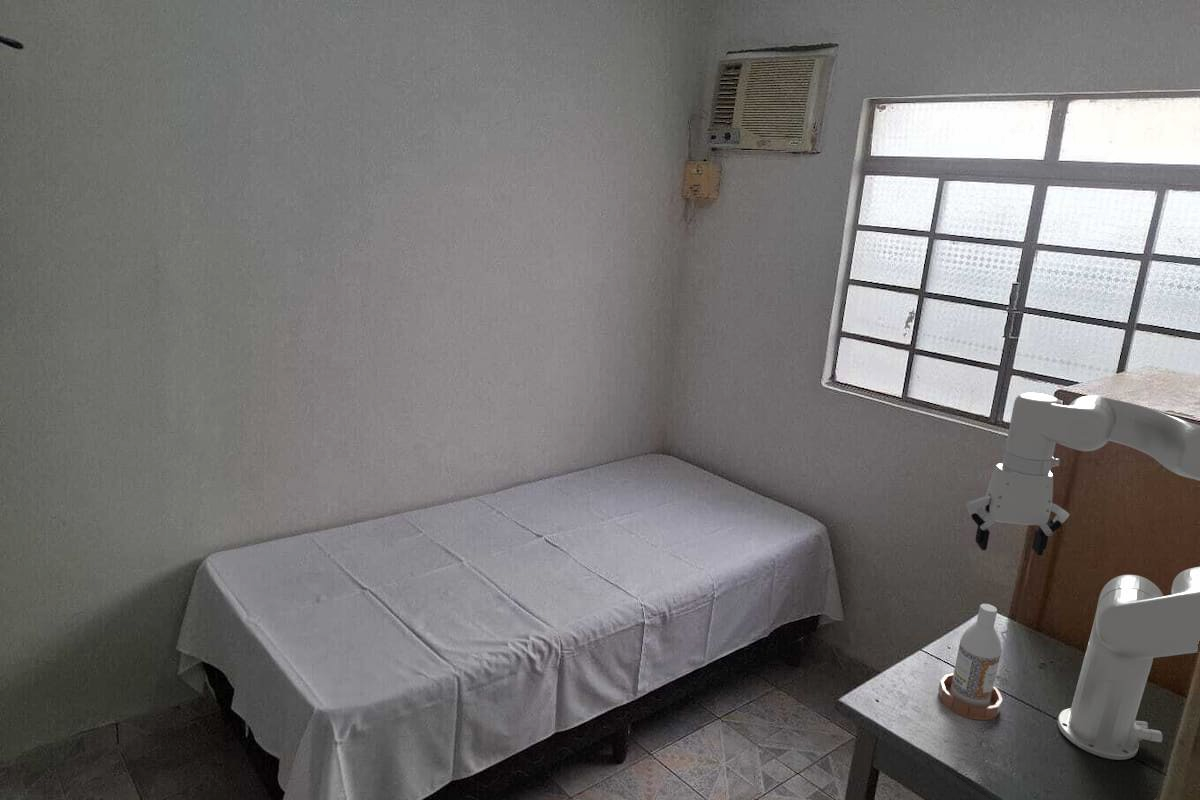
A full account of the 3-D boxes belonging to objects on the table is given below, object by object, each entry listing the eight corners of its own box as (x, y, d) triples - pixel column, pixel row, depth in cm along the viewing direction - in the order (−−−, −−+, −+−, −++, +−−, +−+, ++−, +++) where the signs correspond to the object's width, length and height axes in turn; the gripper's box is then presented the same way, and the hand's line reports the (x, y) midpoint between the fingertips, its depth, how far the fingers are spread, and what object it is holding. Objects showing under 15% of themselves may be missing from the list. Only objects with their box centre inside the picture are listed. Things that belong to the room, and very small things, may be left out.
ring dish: (991, 689, 156) (993, 677, 155) (1005, 724, 146) (1008, 713, 145) (934, 679, 158) (936, 668, 157) (944, 714, 148) (947, 703, 147)
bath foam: (974, 715, 147) (995, 622, 141) (942, 694, 153) (960, 603, 147) (996, 703, 151) (1017, 611, 145) (964, 683, 156) (982, 594, 150)
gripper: (1069, 459, 143) (1050, 544, 148) (969, 451, 146) (954, 535, 151) (1087, 474, 136) (1067, 564, 141) (982, 466, 139) (965, 554, 144)
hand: (1009, 549), depth 146 cm, fingers open, 9 cm apart
